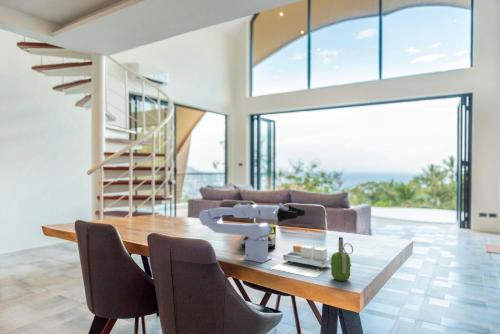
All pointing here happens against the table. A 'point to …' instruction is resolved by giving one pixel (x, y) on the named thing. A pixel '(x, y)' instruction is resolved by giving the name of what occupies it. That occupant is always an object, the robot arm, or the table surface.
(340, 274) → the grenade
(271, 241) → the racing car
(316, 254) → the part
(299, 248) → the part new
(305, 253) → the part
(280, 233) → the table surface
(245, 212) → the robot arm
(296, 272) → the track
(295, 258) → the beam with t-bracket
